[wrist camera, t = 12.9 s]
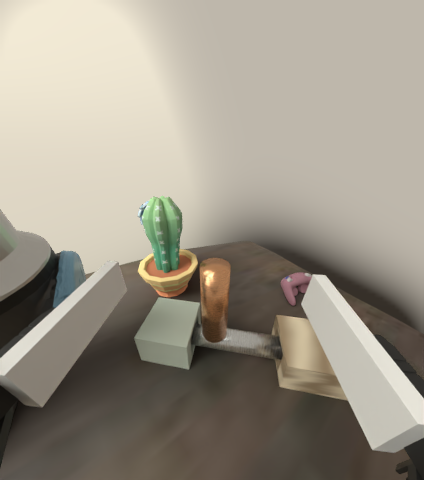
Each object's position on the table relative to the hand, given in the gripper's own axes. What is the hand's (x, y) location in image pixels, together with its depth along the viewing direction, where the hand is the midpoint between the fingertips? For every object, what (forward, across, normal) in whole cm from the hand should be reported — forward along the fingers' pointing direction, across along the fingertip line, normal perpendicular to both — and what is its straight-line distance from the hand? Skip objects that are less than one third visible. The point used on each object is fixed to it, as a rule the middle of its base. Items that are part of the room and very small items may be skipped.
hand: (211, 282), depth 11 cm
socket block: (+10, -8, -26) cm, 29 cm away
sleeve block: (+8, +17, -25) cm, 31 cm away
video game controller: (+25, +22, -26) cm, 42 cm away
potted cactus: (+26, -13, -26) cm, 39 cm away
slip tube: (+9, +2, -24) cm, 26 cm away
